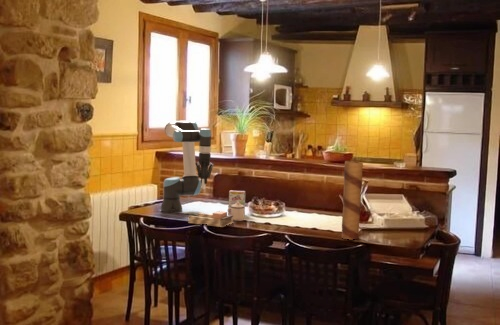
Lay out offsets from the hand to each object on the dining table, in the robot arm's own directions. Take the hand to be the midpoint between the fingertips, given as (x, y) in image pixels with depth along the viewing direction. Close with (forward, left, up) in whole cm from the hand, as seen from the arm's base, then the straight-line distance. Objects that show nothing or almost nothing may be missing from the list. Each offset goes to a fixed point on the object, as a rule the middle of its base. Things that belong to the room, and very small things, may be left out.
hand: (203, 188), depth 375 cm
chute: (+9, -7, -21) cm, 24 cm away
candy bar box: (+10, +28, -21) cm, 37 cm away
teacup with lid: (+17, +13, -21) cm, 30 cm away
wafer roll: (+99, -1, -21) cm, 101 cm away
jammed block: (+16, -7, -19) cm, 26 cm away
